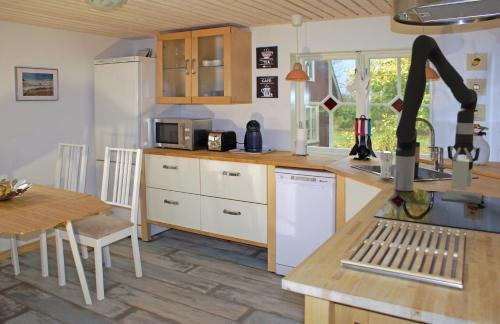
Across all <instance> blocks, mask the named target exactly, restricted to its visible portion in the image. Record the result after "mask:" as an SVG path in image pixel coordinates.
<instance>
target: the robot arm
mask: <svg viewBox="0 0 500 324" xmlns="http://www.w3.org/2000/svg"><path fill="white" fill-rule="evenodd" d="M410 56H411V57H410V58H411V59H410V65H409V69H408V75H407V79H406V84H405V88H404V92H403V93H404V94H403V99H402V109H401V114H400V118H399V121H398V125H397V127H396V129H395V130H396V131H395V136H396V139H397V140H396V149H395V158H394V159H395V162H394V169H393V181H392V182H393V184H392V185H393V186H392V187H393V188H392V189H393V190H394V191H401V192H411V191H414V185H415V184H414V182H415V181H414V180H415V177H414V166H415V151H416V142H418V141H417V139H418V131H417V127H416V125H417V118H418V114H419V111H420V109H421V106H422V103H423V101H424V98H425V93H426V89H427V73H426V65H427V61H429V62H430V63H431V64H432V65H433V67H435V70H436V71H437V74H438V75H439V77H440V79H441V80H442V81H443V82H444V84H445V85H446V86H447V88H448V89H450V92H451V94H452V95H453V97H454V99H455V100H456V101H457V103H459V104H460V109H459V110H458V111H457V113H456V126H455V138H454V144H453V145H448V146H447V158H448V159H449V160H451V167H452V166H453V161H456V160H458V157H460V156H462V155H463V156H467V158H468V160H469V161H470V162H469V170H471V169H472V168H473V169H474V162H476V161H479V157H480V152H481V147H476V146H474V133H475V124H474V123H475V111H476V107H477V104H478V93H477V91H476V90H475V89H473V88H468V86H466V84H465V82H464V81H465V80H464V78H463V77H462V76H461V74H460V72H458V70H456V69H455V67H454V66H453V65H452V63H451V62H449V60H448V59H447V58H446V57H445V54H444V53H443V51H442V50H441V48H440V47H439V44H438V43H437V40H436V39H435V38H434V37H432V36H429V35H426V34H420V35H418V36H416V38H415V39H414V40H413V42H412V47H411V55H410ZM453 150H455V153H454V155H453ZM472 152H474V157H473V154H472Z"/></svg>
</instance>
